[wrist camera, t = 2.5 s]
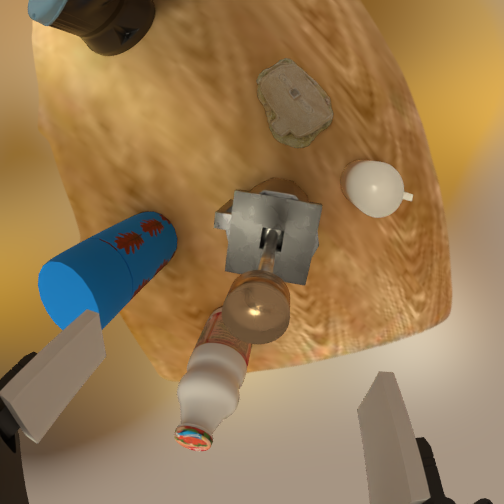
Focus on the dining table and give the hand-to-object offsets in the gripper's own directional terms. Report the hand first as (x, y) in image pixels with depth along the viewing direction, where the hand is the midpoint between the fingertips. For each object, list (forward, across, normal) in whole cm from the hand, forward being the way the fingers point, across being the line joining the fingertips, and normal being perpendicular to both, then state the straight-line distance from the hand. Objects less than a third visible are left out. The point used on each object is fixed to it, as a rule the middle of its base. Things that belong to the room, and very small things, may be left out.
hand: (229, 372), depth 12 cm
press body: (+37, -1, 0) cm, 37 cm away
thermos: (+37, -22, -9) cm, 44 cm away
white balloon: (+37, +14, +7) cm, 41 cm away
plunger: (+23, 0, 0) cm, 23 cm away
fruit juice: (+38, -4, -24) cm, 45 cm away
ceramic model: (+38, 0, +18) cm, 41 cm away
